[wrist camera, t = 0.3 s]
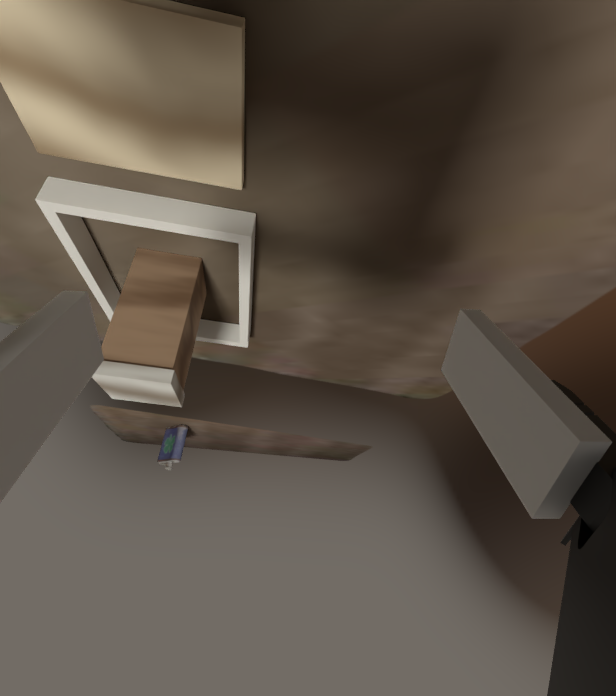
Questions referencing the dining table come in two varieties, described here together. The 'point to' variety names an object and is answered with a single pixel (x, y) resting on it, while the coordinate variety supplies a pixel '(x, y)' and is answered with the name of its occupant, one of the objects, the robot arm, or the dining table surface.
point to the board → (129, 84)
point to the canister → (153, 329)
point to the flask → (172, 445)
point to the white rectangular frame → (157, 213)
